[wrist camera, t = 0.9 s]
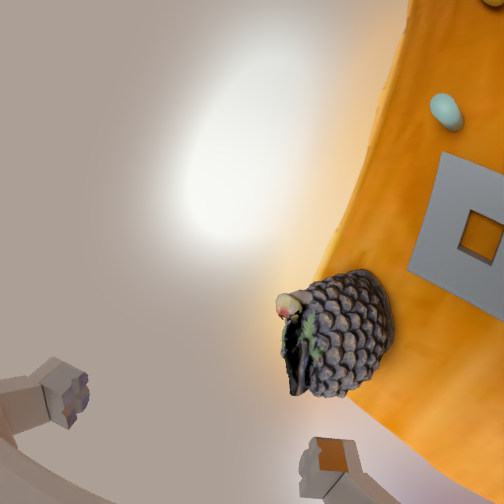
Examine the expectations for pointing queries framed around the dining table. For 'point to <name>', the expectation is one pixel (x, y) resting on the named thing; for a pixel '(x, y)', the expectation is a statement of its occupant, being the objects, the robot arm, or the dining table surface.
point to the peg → (447, 112)
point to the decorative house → (335, 333)
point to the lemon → (494, 2)
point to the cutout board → (451, 232)
